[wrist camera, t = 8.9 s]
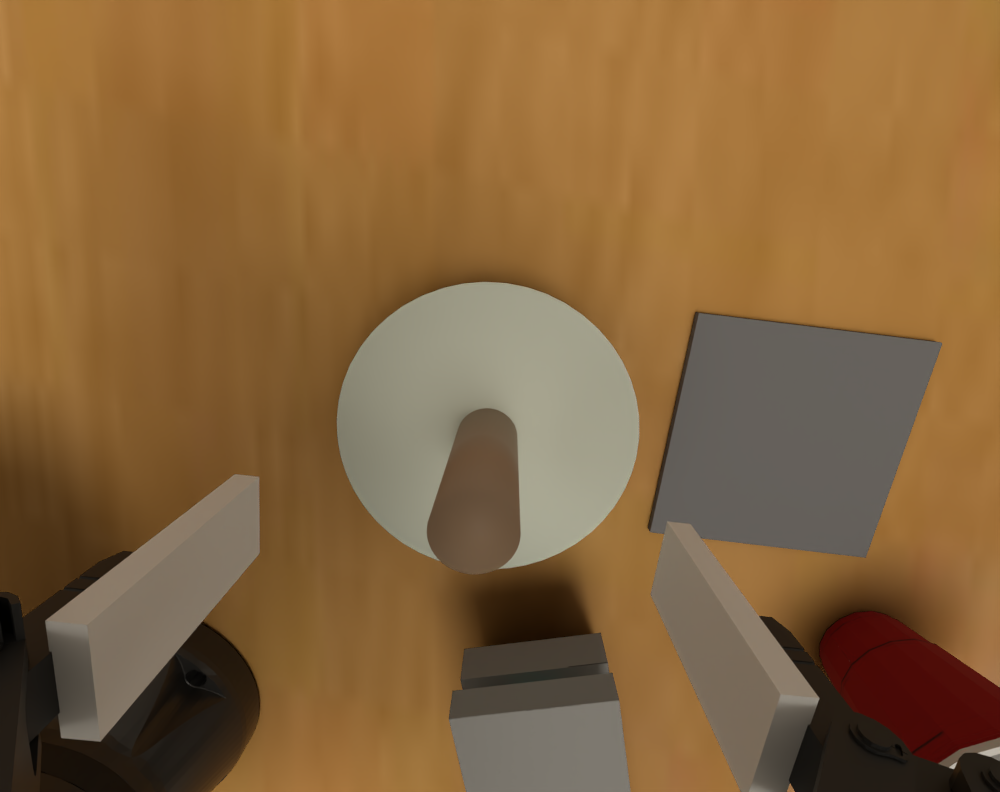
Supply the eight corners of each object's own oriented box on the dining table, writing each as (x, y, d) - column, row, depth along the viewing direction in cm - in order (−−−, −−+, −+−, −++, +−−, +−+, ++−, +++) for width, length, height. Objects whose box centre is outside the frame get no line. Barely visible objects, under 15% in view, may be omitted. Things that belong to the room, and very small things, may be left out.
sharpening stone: (468, 574, 33) (448, 718, 23) (584, 559, 33) (618, 700, 22) (523, 842, 39) (528, 1052, 29) (621, 833, 39) (662, 1043, 28)
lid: (337, 543, 27) (243, 694, 17) (347, 263, 23) (233, 262, 14) (607, 575, 27) (658, 742, 18) (662, 302, 23) (767, 327, 14)
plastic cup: (796, 570, 32) (955, 741, 21) (960, 582, 32) (1210, 760, 21) (762, 701, 35) (886, 916, 24) (912, 713, 35) (1110, 933, 24)
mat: (648, 528, 32) (650, 532, 31) (695, 312, 28) (699, 313, 28) (860, 553, 32) (865, 557, 31) (935, 341, 28) (942, 342, 28)
